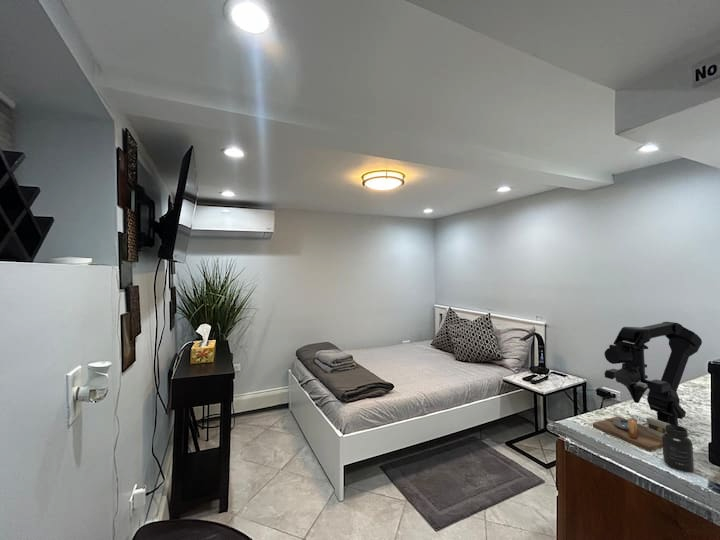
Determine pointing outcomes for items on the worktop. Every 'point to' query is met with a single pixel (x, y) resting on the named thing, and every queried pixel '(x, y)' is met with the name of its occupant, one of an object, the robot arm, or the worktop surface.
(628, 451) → the worktop surface
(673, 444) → the supplement bottle
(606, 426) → the stand
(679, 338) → the robot arm
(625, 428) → the cam lever
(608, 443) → the worktop surface
